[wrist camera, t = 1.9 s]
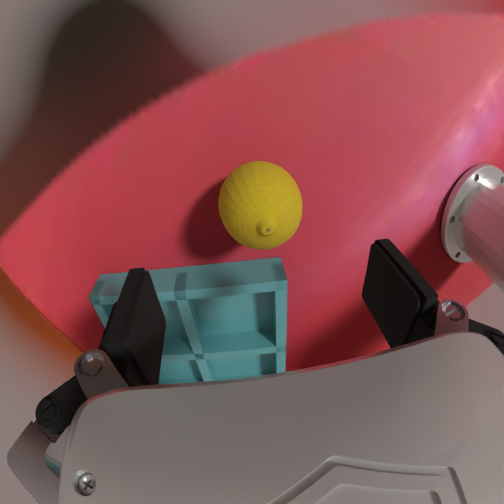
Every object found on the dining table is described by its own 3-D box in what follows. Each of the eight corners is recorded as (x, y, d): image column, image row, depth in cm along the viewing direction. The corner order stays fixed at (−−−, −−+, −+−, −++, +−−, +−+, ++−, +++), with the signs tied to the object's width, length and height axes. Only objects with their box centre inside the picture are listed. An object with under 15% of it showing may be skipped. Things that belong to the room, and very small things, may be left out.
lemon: (265, 226, 24) (280, 284, 18) (207, 196, 23) (199, 247, 16) (301, 173, 22) (335, 214, 15) (242, 138, 20) (251, 162, 13)
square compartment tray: (280, 257, 26) (287, 280, 23) (280, 369, 36) (284, 390, 33) (100, 274, 26) (88, 297, 23) (151, 377, 35) (148, 397, 32)
